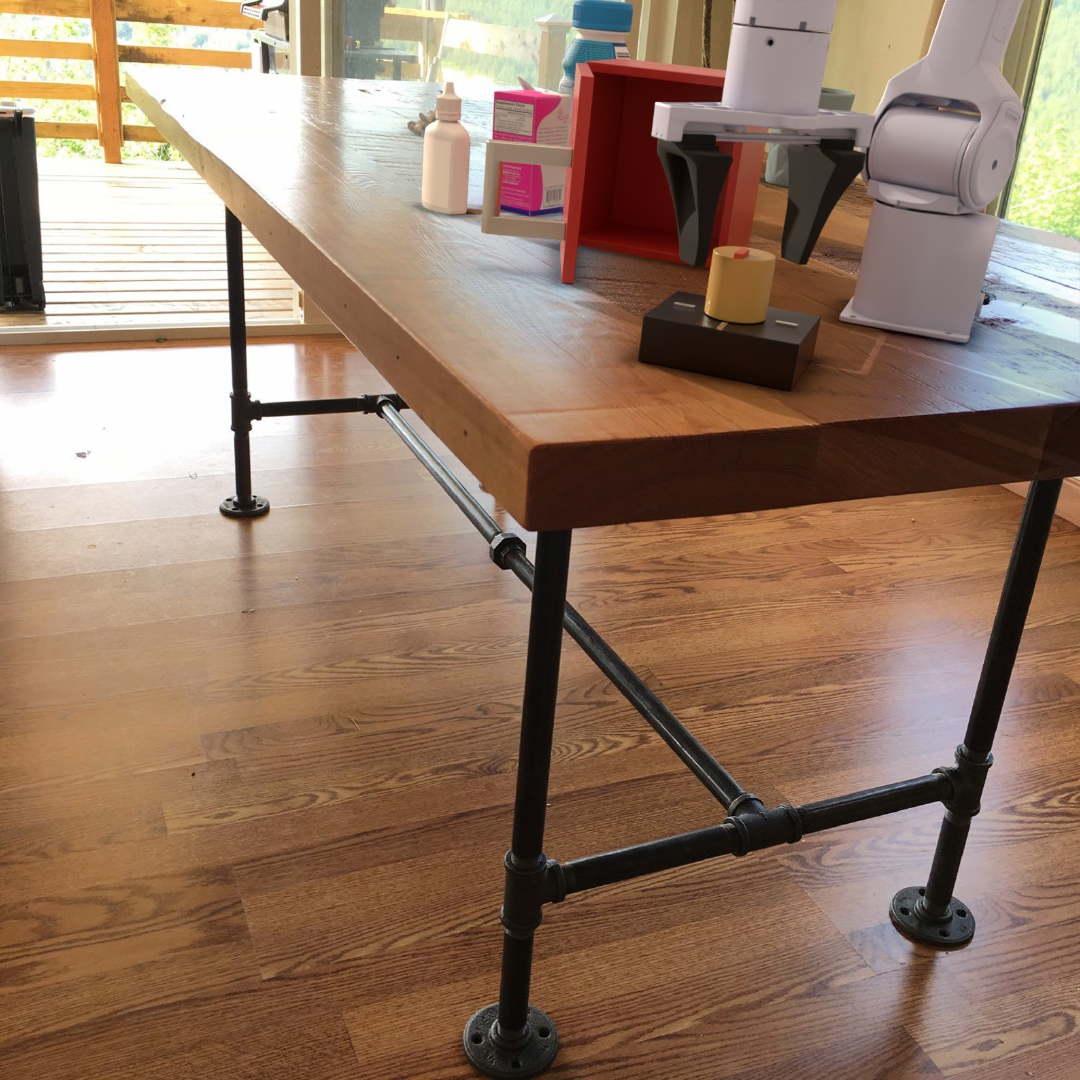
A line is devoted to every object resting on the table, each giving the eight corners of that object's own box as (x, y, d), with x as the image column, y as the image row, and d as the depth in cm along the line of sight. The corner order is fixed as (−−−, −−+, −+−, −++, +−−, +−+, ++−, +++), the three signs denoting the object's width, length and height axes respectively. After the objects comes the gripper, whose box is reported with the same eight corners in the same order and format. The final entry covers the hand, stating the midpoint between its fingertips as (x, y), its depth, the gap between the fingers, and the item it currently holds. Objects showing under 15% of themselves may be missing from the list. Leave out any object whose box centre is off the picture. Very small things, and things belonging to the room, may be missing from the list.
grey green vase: (761, 174, 155) (777, 81, 150) (835, 183, 154) (853, 89, 148) (759, 184, 146) (775, 86, 141) (838, 194, 145) (857, 95, 140)
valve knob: (712, 303, 75) (722, 238, 73) (771, 313, 74) (783, 248, 72) (697, 316, 72) (707, 248, 70) (758, 327, 71) (770, 259, 69)
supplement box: (521, 202, 120) (530, 88, 115) (565, 212, 117) (575, 95, 112) (485, 207, 116) (493, 88, 111) (529, 217, 113) (539, 96, 108)
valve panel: (812, 359, 76) (822, 313, 75) (790, 392, 69) (799, 342, 68) (672, 332, 79) (678, 287, 78) (637, 361, 72) (643, 313, 71)
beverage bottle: (559, 189, 130) (576, -2, 121) (544, 176, 137) (559, -5, 128) (629, 192, 132) (650, 5, 123) (610, 180, 139) (629, 2, 130)
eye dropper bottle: (422, 214, 110) (427, 83, 104) (421, 203, 115) (425, 77, 109) (467, 217, 110) (474, 86, 105) (463, 206, 115) (470, 81, 110)
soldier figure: (393, 139, 163) (412, 104, 172) (417, 163, 165) (435, 128, 174) (428, 105, 159) (446, 71, 167) (453, 130, 161) (469, 96, 169)
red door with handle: (477, 275, 89) (489, 67, 82) (486, 237, 102) (497, 55, 95) (574, 284, 89) (594, 76, 82) (570, 245, 102) (588, 63, 95)
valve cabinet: (722, 271, 98) (752, 80, 91) (568, 245, 103) (585, 61, 96) (747, 252, 107) (777, 76, 100) (603, 228, 111) (622, 58, 104)
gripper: (709, 25, 59) (675, 280, 65) (925, 42, 65) (874, 275, 71) (647, 16, 65) (621, 251, 71) (850, 32, 71) (810, 249, 77)
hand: (743, 262), depth 71 cm, fingers open, 7 cm apart
